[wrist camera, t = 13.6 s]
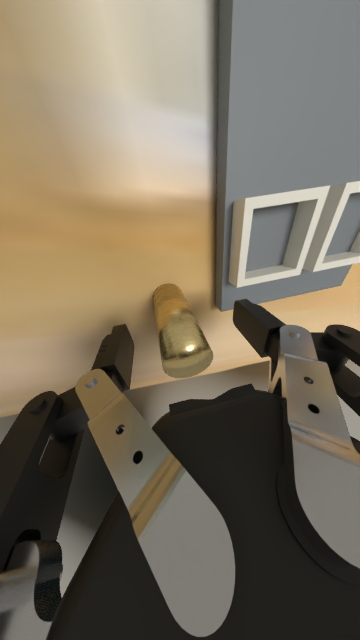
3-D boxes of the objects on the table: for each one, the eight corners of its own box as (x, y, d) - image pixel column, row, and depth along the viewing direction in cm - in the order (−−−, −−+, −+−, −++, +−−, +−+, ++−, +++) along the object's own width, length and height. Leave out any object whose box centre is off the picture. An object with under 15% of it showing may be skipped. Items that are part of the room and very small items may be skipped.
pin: (159, 314, 16) (171, 383, 9) (148, 290, 14) (154, 355, 8) (186, 305, 16) (216, 367, 9) (178, 279, 14) (209, 335, 8)
